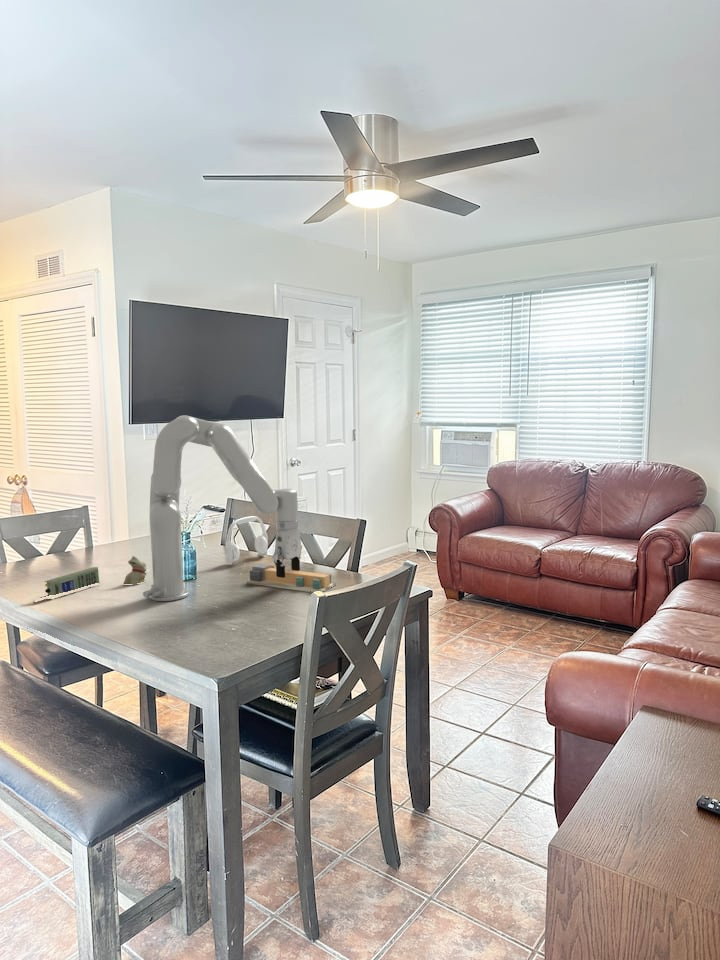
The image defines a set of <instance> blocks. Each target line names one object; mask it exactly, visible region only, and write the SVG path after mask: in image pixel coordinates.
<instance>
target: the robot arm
mask: <svg viewBox="0 0 720 960" xmlns="http://www.w3.org/2000/svg"><path fill="white" fill-rule="evenodd" d="M187 443H194V444H197V445H201V446H206V447H211V448H212V450H214V452H215V453H216V455H217V456H218V458H219V459H220V462H222V464H223V465H224V466H225V468H226V470H227V471H228V472H229V474H230V475H231V477H232V478H233V479H234V480H235V481H236V482H237V483H238V484H239V485H240V487H241V488H242V489H243V490H244V492H245V493H246V494H247V496H248V497H249V498H250V500H251V504H252V505H253V507H254V508H255V509H256V510H257V511H258V512H259V513H260V514H262V515H266V516H267V515H269V516H270V515H272V514H274V513H275V531H276V532H275V543H274V544H275V545H274V546H275V547H274V548H275V550H274V553H273V554H272V555H271V556H272V557H271V558H272V559H273V563H274V566H275V568H276V576H277V577H282V578H284V577H285V569H286V566H285V562H286V560H291V561H290V562H291V563H290V564H291V565H290V566H291V568H290V569H291V570H294V571H301V555H302V549H303V545H302V541H301V539H302V538H301V532H300V527H299V512H298V509H299V508H298V507H299V506H298V491H297V490H296V489H293V488H282V489H281V488H280V489H272V487H271V486H270V484H269V483H268V482H267V480H266V479H265V477H264V476H263V474H262V473H261V472H260V470H259V469H258V467H257V465H256V464H255V462H254V461H253V459H252V458H251V456H250V455H249V453H248V452H247V451H246V449H245V448H244V446H243V444H242V443H241V441H240V440H239V439H238V437H237V435H236V434H235V432H234V431H233V430H232V428H231V427H230V426H228V425H226V424H223V423H218V422H214V421H209V420H205V419H201V418H197V417H194V416H190V415H186V414H185V415H180V416H178V417H176V418H175V419H173V420H172V421H170V422H168V423H167V424H166V425H164V427H163V428H162V429H161V430H160V431H159V434H158V435H157V438H156V440H155V445H154V454H153V468H152V473H151V476H150V492H149V530H150V549H151V562H152V563H151V564H152V580H153V581H152V582H153V584H152V585H151V586H150V587H151V588H150V589H148V590H146V591H145V590H144V591H143V593H142V596H143V597H144V598H149V599H150V600H152V601H156V602H171V601H178V600H181V599H184V598H186V597H187V596H189V589H187V588H185V587H184V585H185V584H184V566H183V564H184V563H183V547H182V546H183V545H182V544H183V543H182V515H181V510H180V490H181V486H182V477H181V474H182V471H181V469H182V455H183V450H184V447H185V445H186V444H187Z"/></svg>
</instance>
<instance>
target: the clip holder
mask: <svg viewBox="0 0 720 960" xmlns="http://www.w3.org/2000/svg"><path fill="white" fill-rule="evenodd" d="M274 566H275V565H271V568H275V567H274ZM310 572H311V573H316V572H315V571H310ZM326 574H327V575H330V585H329V586H327V587H325V588H322V587H321V580H319V579H313V586H307V585H304V578H303V577H296V584H292V583H284V582H276V581H269V580H261V571H254V570H249V579H247V580H246V584H249V585H258V586H264V587H270V588H271V587H272V588H279V589H286V590H292V591H293V590H294V591H301V592H307V593H308V592H309V593H314V592H313V591H325V592H327V591H329V590H330V589H332V588H334V587H336V586H337V585H336V584H337V583H336V582H332V574H330V573H326ZM335 585H336V586H335ZM333 586H334V587H333ZM331 587H332V588H331ZM328 589H329V590H328ZM310 591H311V592H310Z"/></svg>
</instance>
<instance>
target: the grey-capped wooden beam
mask: <svg viewBox="0 0 720 960" xmlns="http://www.w3.org/2000/svg"><path fill="white" fill-rule="evenodd" d="M271 566H272V565H271V564H264V563H258V564H256V565H253V566H252V567H251V569H252V570H254V571H261V580H269V581H276V582H284V583H292V584H296V577H303V578H304V585H307V586H313V579H319V580H321V587H322V588H325V587H327V586H329V585H330V575H327V574H328V573H319V572H318V573H317V572H315V573H311V572H312V571H303V570H300V571H294V570H292V569H287V568H285V577H284V578H282V577H277V576H276V567H274V568H271Z"/></svg>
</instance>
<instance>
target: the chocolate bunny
mask: <svg viewBox="0 0 720 960" xmlns="http://www.w3.org/2000/svg"><path fill="white" fill-rule="evenodd" d="M128 565H130V566H131V569H132V570H131V571H130V572H129V573H128V574H127V573H126V576H125V578H124V581H123V584H137V583H141V582H144V581H145V582H146V580H145V578H146V575H147V573H146V571H147V564H146V563H145V562H143V561H141V560H139V558H137V557H136V556H135V555H132V557H131V559H130V560H128ZM145 582H144V583H145Z"/></svg>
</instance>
